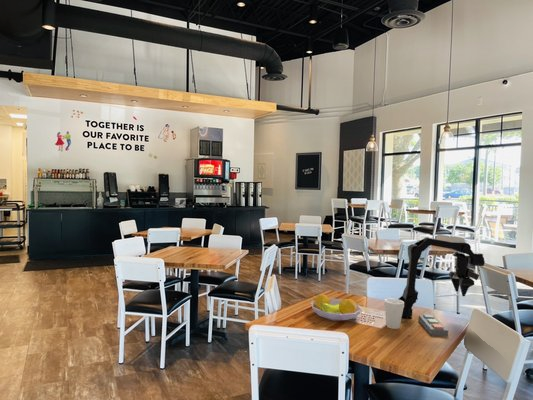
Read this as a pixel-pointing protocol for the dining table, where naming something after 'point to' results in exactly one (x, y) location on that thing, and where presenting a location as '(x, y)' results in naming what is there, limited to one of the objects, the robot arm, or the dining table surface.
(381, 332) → the dining table surface
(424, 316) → the slate blue button
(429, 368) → the dining table surface
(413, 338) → the dining table surface
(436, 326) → the terracotta button
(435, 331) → the button panel
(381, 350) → the dining table surface
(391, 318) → the foam cup
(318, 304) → the fruit bowl
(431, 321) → the sage button
